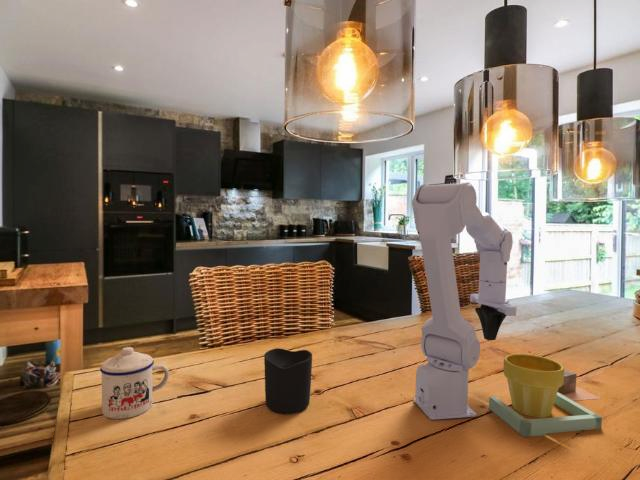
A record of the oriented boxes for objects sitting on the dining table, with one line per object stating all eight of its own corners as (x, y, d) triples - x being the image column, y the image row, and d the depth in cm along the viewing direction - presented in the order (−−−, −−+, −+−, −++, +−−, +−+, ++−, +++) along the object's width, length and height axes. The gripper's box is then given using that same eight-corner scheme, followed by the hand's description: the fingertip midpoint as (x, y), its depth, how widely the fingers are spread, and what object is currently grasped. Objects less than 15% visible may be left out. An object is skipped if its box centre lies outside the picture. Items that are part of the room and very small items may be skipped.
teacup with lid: (103, 425, 67) (102, 360, 67) (98, 404, 75) (97, 345, 74) (174, 408, 74) (174, 348, 74) (163, 390, 82) (163, 336, 81)
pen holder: (291, 389, 83) (292, 344, 83) (321, 405, 76) (322, 356, 76) (254, 403, 77) (255, 353, 76) (283, 421, 70) (283, 367, 69)
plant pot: (508, 393, 83) (510, 349, 83) (564, 408, 77) (567, 360, 77) (496, 412, 75) (498, 362, 75) (558, 430, 69) (561, 376, 68)
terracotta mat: (558, 403, 79) (558, 401, 79) (524, 382, 89) (524, 381, 89) (600, 400, 81) (600, 398, 81) (562, 380, 91) (562, 378, 91)
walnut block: (563, 394, 82) (564, 376, 82) (545, 387, 86) (546, 369, 86) (575, 391, 84) (576, 373, 84) (557, 384, 88) (558, 367, 88)
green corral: (524, 437, 67) (525, 423, 66) (488, 408, 77) (489, 396, 76) (601, 430, 69) (601, 417, 69) (556, 403, 79) (557, 392, 79)
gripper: (530, 286, 82) (527, 349, 83) (489, 275, 96) (486, 329, 97) (500, 286, 81) (497, 350, 82) (463, 276, 95) (460, 330, 96)
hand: (489, 339), depth 89 cm, fingers closed
